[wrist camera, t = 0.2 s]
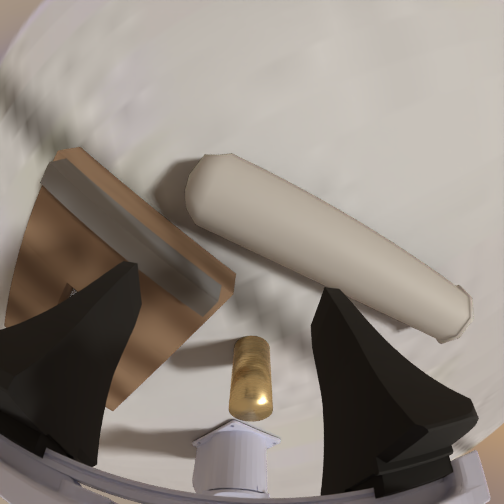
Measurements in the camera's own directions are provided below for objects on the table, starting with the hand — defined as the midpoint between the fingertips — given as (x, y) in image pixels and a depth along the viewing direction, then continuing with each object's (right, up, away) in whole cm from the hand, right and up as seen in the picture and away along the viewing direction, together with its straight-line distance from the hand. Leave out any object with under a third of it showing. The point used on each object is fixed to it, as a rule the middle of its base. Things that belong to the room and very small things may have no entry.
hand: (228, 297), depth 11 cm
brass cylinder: (+1, -7, +14) cm, 16 cm away
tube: (+8, +2, +11) cm, 14 cm away
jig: (-14, -3, +13) cm, 19 cm away
